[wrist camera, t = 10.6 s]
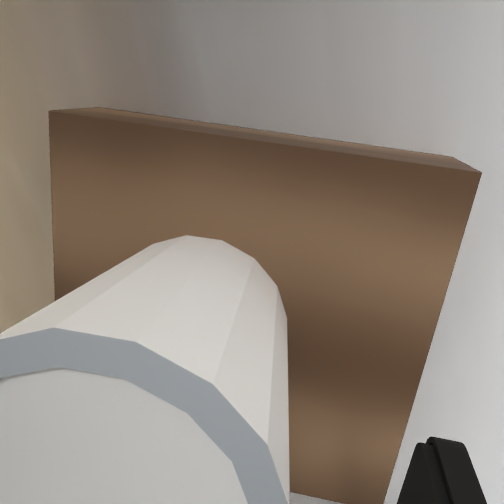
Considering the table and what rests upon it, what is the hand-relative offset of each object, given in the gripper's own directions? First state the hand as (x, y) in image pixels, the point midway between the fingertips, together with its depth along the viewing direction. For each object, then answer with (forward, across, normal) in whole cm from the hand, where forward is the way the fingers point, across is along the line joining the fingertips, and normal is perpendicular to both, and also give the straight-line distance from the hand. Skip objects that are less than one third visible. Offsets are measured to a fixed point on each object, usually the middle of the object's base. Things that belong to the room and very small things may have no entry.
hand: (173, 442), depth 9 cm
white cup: (+6, +1, 0) cm, 6 cm away
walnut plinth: (+9, 0, +1) cm, 9 cm away
